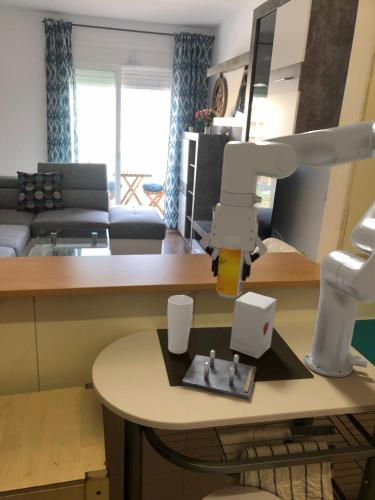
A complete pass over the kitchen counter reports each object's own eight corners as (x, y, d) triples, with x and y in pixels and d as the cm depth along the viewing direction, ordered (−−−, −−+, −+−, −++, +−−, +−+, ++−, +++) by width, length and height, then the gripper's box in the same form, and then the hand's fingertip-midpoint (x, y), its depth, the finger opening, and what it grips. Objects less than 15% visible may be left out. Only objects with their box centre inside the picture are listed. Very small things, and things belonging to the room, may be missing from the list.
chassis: (256, 370, 108) (258, 352, 106) (248, 400, 96) (251, 380, 94) (196, 358, 112) (197, 341, 110) (182, 385, 100) (183, 366, 98)
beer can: (221, 287, 102) (226, 227, 97) (245, 292, 99) (251, 231, 95) (211, 295, 96) (216, 232, 92) (236, 301, 94) (243, 236, 90)
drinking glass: (193, 347, 117) (197, 298, 113) (183, 358, 111) (186, 306, 107) (172, 341, 120) (174, 292, 116) (160, 352, 114) (163, 301, 110)
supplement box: (258, 359, 113) (264, 308, 109) (229, 349, 118) (234, 299, 114) (271, 346, 121) (277, 298, 116) (243, 337, 125) (248, 290, 121)
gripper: (278, 201, 93) (269, 277, 98) (203, 193, 97) (198, 267, 102) (275, 206, 86) (266, 288, 91) (194, 198, 90) (189, 276, 95)
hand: (230, 276), depth 96 cm, fingers closed on beer can, 6 cm apart
